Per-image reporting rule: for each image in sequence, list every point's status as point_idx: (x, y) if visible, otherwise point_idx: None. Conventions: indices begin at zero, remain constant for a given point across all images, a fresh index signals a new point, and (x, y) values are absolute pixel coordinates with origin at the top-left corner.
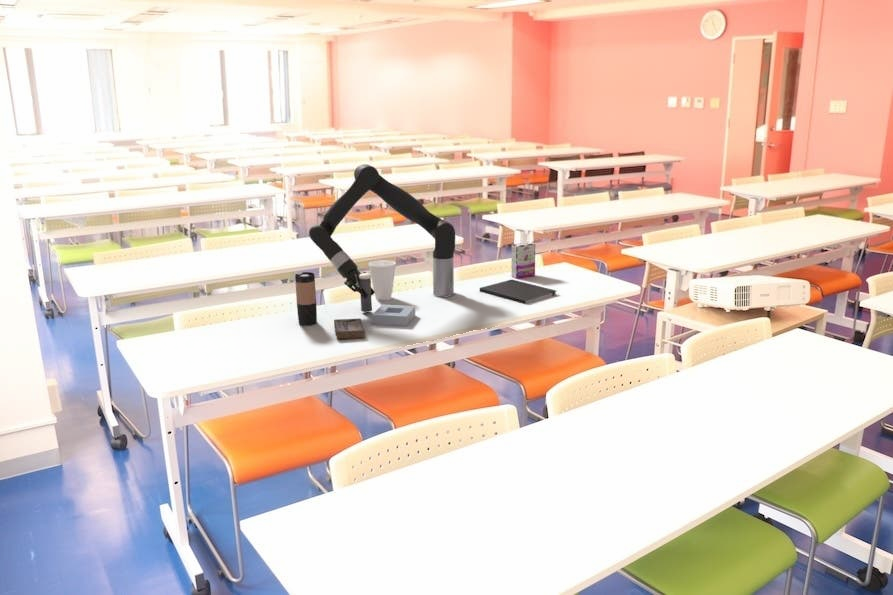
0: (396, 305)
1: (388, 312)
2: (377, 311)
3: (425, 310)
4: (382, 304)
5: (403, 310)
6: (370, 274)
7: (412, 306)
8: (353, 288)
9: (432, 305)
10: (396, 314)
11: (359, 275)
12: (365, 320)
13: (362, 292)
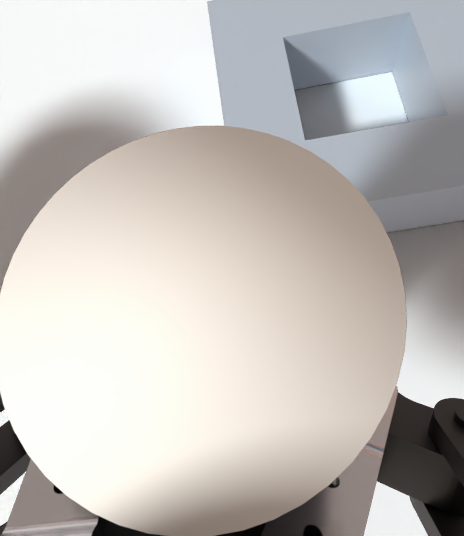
0: (230, 110)
1: None
2: (453, 168)
3: (106, 52)
4: None
5: (336, 18)
6: (112, 164)
7: (219, 11)
8: (452, 531)
9: (4, 58)
10: (453, 16)
11: (329, 457)
12: (456, 303)
13: None
